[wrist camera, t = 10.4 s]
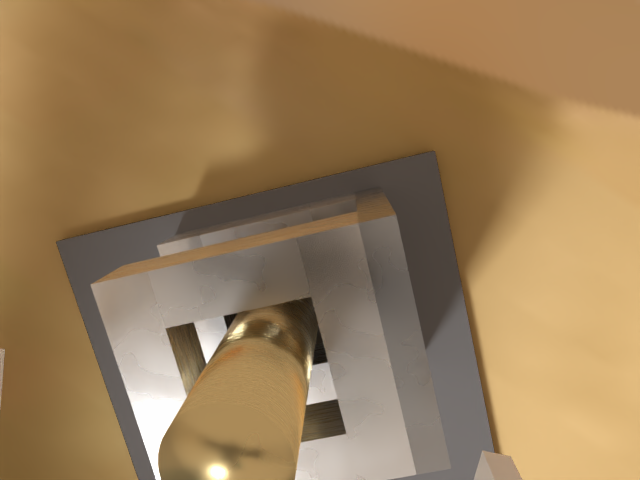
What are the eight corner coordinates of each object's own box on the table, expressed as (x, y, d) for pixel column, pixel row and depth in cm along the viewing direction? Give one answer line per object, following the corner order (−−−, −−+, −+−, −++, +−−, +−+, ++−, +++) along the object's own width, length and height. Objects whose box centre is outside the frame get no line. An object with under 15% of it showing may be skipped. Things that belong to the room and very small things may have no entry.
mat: (199, 639, 31) (196, 647, 30) (61, 240, 26) (56, 242, 26) (520, 590, 29) (523, 598, 28) (433, 150, 24) (435, 150, 24)
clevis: (224, 399, 27) (169, 518, 19) (175, 234, 25) (90, 284, 17) (418, 360, 26) (451, 468, 18) (379, 186, 24) (396, 214, 16)
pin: (261, 340, 26) (180, 537, 13) (243, 275, 25) (140, 417, 13) (328, 326, 26) (310, 515, 13) (312, 260, 25) (276, 390, 12)
